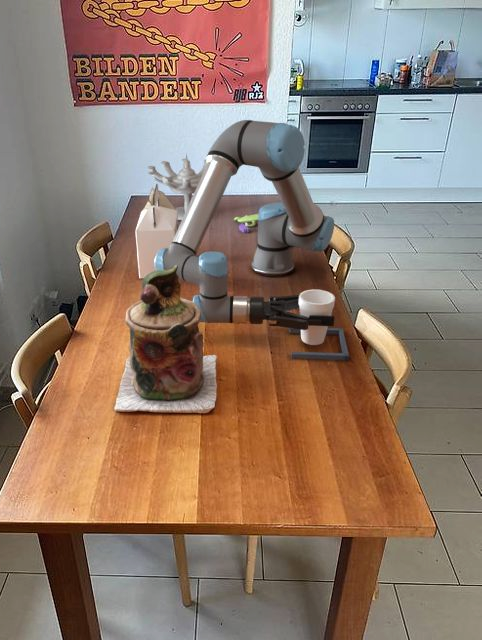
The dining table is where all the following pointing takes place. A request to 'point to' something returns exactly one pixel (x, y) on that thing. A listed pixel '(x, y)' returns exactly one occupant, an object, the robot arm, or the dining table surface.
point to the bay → (324, 356)
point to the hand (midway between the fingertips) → (332, 312)
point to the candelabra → (180, 182)
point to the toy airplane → (247, 222)
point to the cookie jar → (166, 352)
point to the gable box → (155, 230)
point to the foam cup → (315, 313)
